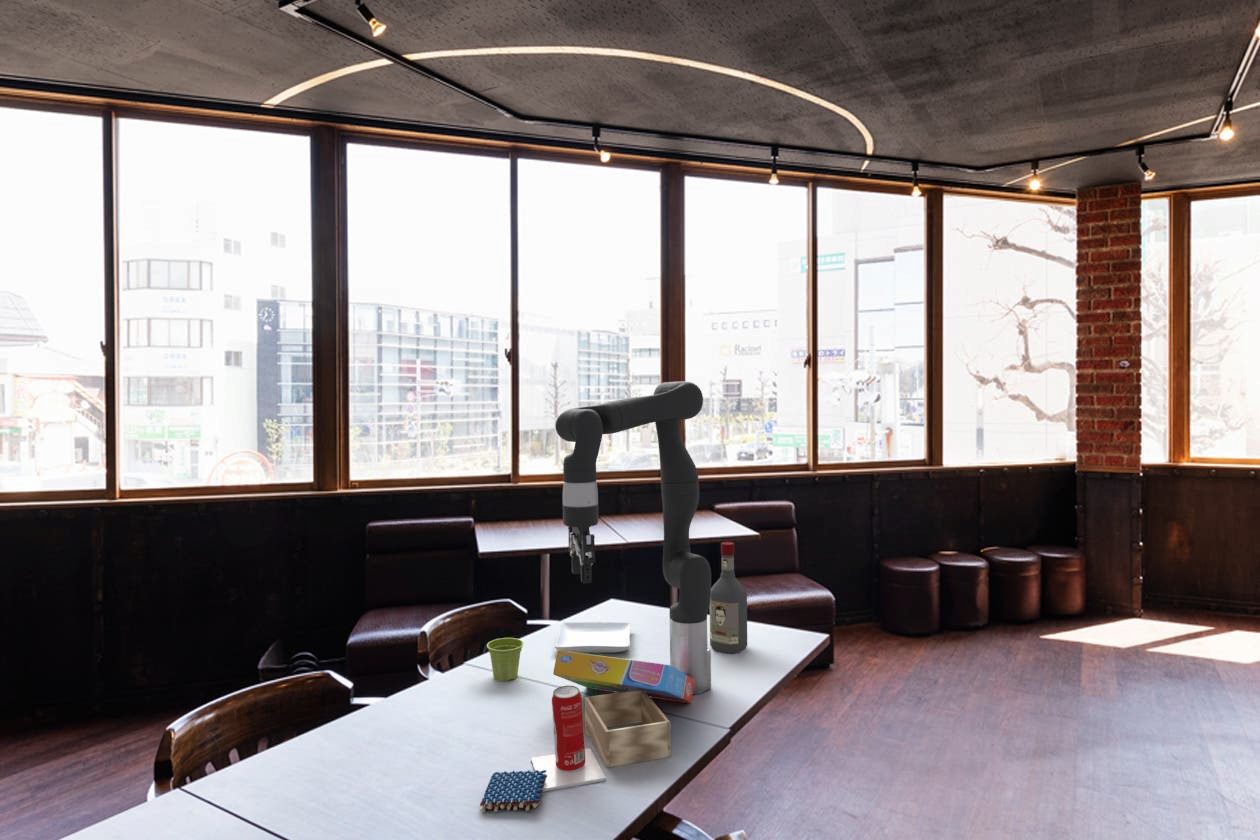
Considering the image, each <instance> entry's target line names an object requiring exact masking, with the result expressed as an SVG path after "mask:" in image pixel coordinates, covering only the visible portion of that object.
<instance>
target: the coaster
mask: <svg viewBox="0 0 1260 840" xmlns="http://www.w3.org/2000/svg"><path fill="white" fill-rule="evenodd" d="M530 762H531V764H532V767H533V771H536V770H538V771H540V770H541V771H543V770H546V773H544V774H546V775H547V777H546V781H545V784H544V786H543V788H542V789H543V792H549V791H554V790H561V789H566V788H571V787H576V786H582V785H587V784H593V783H597V782H598V783H599V782H604V781H606V779H607V778H606V776H605V774H604V772H603V770H602V768H601V766H600V765H599V763H598V761H597V759H596V757H595V755H594V754H593V751H592V750H591V748H585V764H584V766H583V767H582V768H581V769H579V770H577V771H574V772H563V771H561V770H559V769H558V768H557V766H556V759H555V753H554V754H553V753H552V754H548V755H547V754H546V755H541V756H533V757H530ZM542 774H543V773H542ZM543 792H542V793H543Z"/></svg>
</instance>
